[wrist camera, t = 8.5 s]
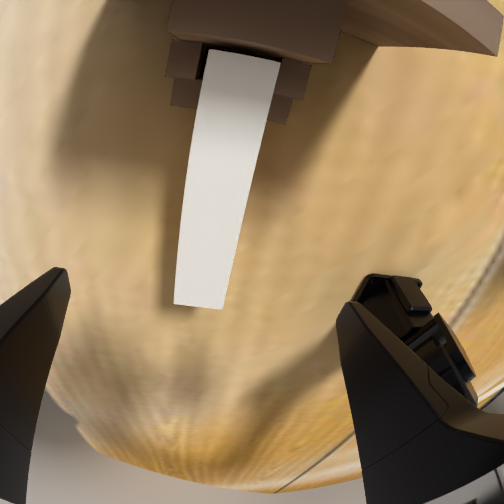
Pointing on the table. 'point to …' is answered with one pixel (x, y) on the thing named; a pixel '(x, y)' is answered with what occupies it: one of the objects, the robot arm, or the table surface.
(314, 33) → the brown wooden block
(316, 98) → the table surface
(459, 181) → the table surface
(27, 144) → the table surface
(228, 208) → the bed rail
